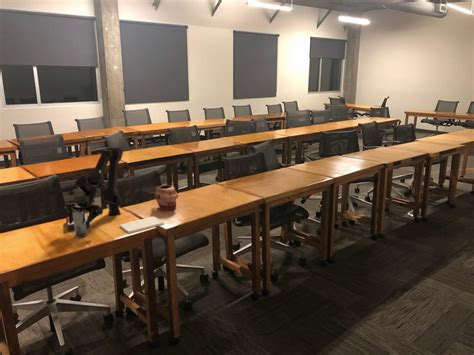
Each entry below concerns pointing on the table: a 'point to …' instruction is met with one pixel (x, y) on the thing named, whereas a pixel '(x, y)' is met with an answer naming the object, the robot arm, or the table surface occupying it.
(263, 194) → the table surface
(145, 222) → the tile
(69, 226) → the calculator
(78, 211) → the tin
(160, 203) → the decorative planter
